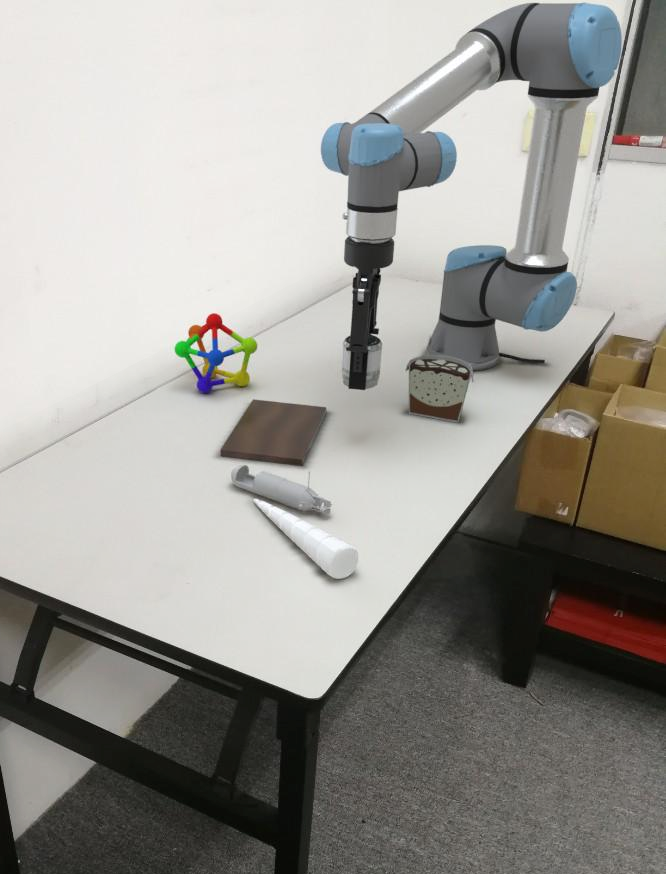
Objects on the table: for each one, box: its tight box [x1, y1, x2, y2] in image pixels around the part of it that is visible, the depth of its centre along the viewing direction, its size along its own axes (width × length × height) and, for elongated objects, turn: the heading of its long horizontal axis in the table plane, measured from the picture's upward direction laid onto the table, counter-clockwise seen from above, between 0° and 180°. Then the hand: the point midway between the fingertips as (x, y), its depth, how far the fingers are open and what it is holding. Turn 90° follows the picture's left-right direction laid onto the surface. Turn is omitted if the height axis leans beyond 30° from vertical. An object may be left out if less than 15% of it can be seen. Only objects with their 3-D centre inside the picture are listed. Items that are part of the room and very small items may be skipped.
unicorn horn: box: [253, 498, 359, 580], centre depth 121 cm, size 5×24×5 cm, turn 27°
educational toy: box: [174, 312, 258, 394], centre depth 164 cm, size 16×13×15 cm
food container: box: [405, 354, 474, 423], centre depth 157 cm, size 12×6×10 cm, turn 65°
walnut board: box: [220, 399, 327, 467], centre depth 151 cm, size 14×22×1 cm, turn 166°
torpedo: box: [230, 464, 333, 515], centre depth 129 cm, size 18×5×7 cm, turn 54°
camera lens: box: [341, 334, 383, 390], centre depth 141 cm, size 6×6×8 cm
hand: (360, 380), depth 142 cm, fingers closed on camera lens, 6 cm apart
